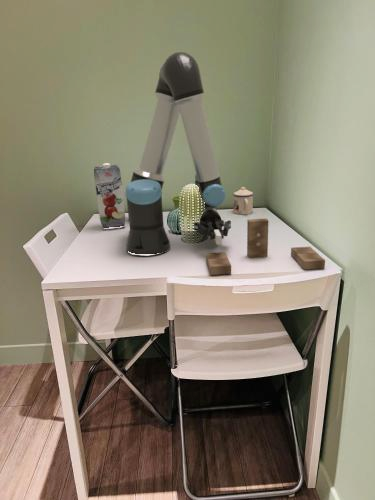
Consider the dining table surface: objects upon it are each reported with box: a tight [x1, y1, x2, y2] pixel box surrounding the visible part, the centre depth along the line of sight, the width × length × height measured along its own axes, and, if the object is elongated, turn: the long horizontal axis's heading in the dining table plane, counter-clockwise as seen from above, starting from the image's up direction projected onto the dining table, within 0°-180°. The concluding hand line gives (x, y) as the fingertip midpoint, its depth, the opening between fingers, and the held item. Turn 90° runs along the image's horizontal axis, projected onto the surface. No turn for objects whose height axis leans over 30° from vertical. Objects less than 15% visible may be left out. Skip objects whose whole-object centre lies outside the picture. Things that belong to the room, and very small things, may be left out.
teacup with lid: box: [232, 186, 254, 215], centre depth 169 cm, size 12×9×12 cm
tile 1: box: [205, 251, 232, 276], centre depth 111 cm, size 6×3×12 cm
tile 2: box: [246, 218, 270, 259], centre depth 116 cm, size 6×3×12 cm, turn 93°
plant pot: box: [171, 195, 180, 210], centre depth 170 cm, size 9×9×9 cm
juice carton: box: [93, 162, 126, 229], centre depth 154 cm, size 9×10×27 cm
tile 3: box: [290, 246, 326, 271], centre depth 112 cm, size 6×3×12 cm
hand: (219, 240), depth 111 cm, fingers closed
